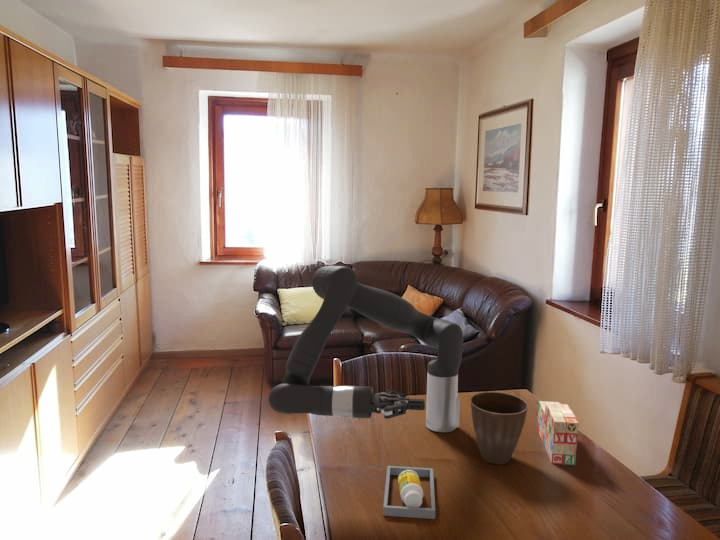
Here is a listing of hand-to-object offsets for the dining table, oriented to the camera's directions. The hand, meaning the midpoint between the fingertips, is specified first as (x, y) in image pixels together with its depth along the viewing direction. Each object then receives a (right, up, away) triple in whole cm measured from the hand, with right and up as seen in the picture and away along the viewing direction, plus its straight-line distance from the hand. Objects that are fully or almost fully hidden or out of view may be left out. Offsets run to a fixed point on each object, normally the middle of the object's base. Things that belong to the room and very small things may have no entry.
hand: (424, 404), depth 132 cm
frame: (-4, -22, +1) cm, 22 cm away
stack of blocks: (+40, -18, +26) cm, 51 cm away
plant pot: (+22, -19, +19) cm, 34 cm away
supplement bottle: (-4, -19, +2) cm, 19 cm away
